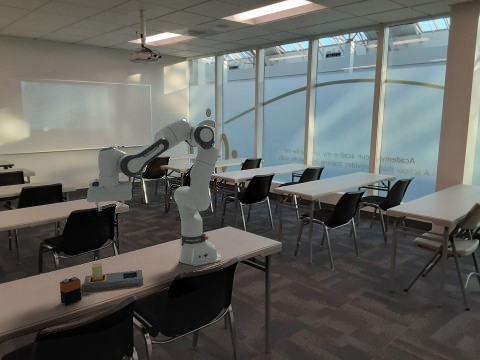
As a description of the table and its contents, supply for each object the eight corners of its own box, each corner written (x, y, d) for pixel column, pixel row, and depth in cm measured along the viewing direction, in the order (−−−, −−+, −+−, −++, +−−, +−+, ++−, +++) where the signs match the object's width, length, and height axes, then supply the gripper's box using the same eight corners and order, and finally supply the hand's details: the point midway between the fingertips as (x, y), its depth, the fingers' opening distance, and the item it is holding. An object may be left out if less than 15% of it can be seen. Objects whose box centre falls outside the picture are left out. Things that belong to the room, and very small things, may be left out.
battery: (60, 302, 152) (59, 279, 150) (76, 296, 157) (75, 274, 155) (65, 306, 149) (64, 282, 147) (82, 300, 154) (80, 277, 153)
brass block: (103, 281, 170) (102, 262, 169) (102, 285, 167) (101, 266, 165) (93, 282, 169) (92, 263, 168) (93, 286, 165) (92, 267, 164)
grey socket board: (142, 275, 178) (141, 269, 178) (143, 284, 169) (142, 277, 169) (85, 282, 171) (85, 275, 170) (83, 291, 162) (83, 284, 161)
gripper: (131, 179, 182) (133, 207, 184) (86, 181, 176) (88, 210, 178) (132, 181, 176) (133, 210, 178) (85, 183, 170) (87, 213, 172)
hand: (110, 210), depth 178 cm, fingers open, 8 cm apart
